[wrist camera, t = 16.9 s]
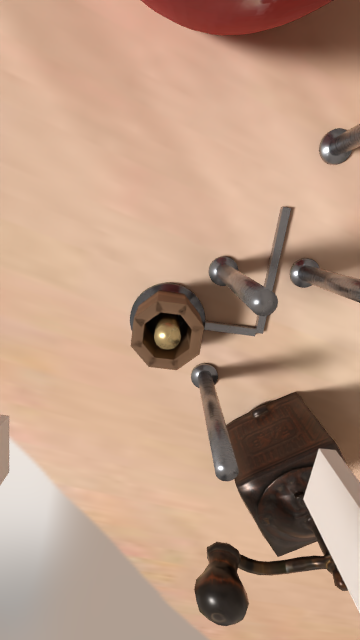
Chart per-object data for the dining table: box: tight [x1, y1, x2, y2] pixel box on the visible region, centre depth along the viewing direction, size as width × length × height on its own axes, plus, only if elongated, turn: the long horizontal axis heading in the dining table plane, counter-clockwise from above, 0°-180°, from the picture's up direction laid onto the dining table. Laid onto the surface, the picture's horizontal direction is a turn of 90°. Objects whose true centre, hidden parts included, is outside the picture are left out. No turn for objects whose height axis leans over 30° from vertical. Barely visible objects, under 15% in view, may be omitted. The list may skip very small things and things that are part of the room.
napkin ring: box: [131, 290, 204, 370], centre depth 31 cm, size 6×6×5 cm
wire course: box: [191, 124, 360, 481], centre depth 26 cm, size 12×28×15 cm, turn 172°
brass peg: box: [130, 283, 205, 349], centre depth 32 cm, size 8×8×6 cm
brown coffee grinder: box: [194, 392, 348, 626], centre depth 31 cm, size 16×11×18 cm
